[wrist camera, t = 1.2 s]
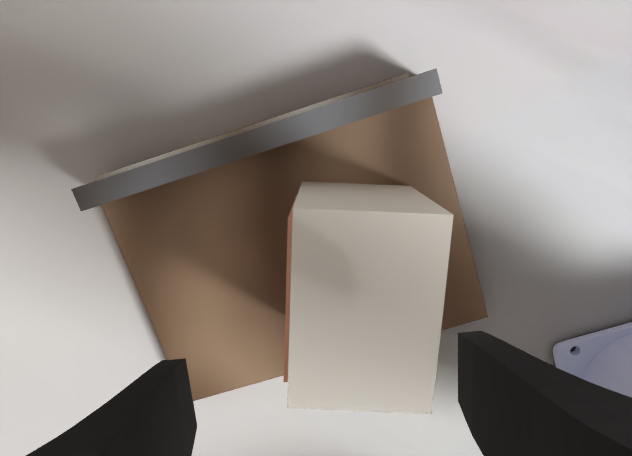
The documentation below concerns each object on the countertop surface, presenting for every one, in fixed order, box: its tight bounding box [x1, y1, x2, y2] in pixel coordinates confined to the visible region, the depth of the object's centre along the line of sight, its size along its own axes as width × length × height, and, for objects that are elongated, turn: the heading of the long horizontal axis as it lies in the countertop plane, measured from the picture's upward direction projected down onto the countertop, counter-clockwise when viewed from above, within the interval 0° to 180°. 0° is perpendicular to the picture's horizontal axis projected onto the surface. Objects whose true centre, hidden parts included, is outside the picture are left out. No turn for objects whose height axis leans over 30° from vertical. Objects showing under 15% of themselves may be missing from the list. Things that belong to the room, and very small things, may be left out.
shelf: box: [71, 69, 488, 401], centre depth 21 cm, size 16×12×3 cm
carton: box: [284, 181, 454, 414], centre depth 18 cm, size 5×7×7 cm
